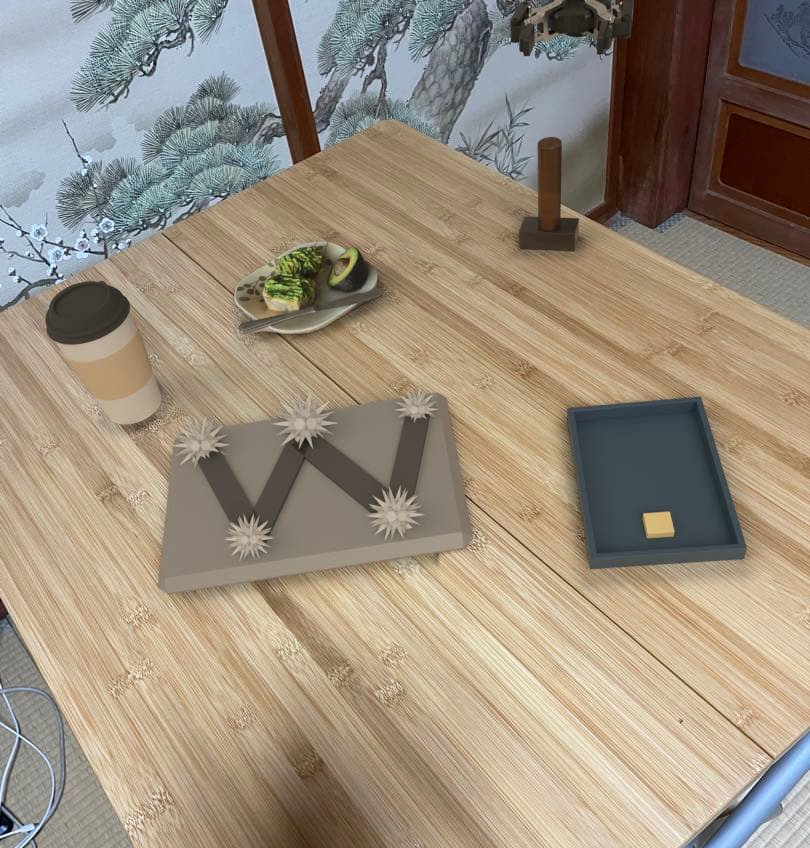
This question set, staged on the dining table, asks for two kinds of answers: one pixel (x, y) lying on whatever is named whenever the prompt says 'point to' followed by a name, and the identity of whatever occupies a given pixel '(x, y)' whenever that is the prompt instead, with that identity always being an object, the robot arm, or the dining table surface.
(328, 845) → the dining table surface
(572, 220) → the wooden peg on stand
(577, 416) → the tray
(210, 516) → the constellation board
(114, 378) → the coffee cup
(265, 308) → the avocado toast plate
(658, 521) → the crumb
